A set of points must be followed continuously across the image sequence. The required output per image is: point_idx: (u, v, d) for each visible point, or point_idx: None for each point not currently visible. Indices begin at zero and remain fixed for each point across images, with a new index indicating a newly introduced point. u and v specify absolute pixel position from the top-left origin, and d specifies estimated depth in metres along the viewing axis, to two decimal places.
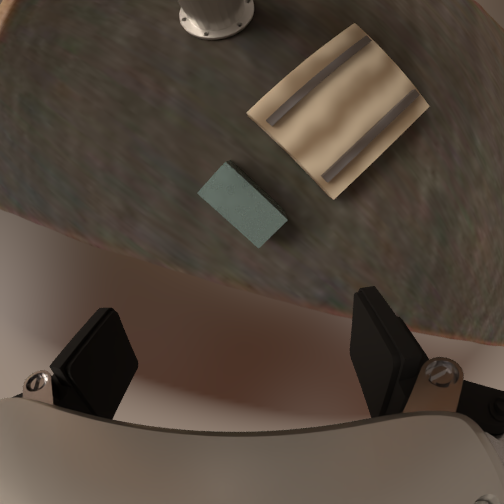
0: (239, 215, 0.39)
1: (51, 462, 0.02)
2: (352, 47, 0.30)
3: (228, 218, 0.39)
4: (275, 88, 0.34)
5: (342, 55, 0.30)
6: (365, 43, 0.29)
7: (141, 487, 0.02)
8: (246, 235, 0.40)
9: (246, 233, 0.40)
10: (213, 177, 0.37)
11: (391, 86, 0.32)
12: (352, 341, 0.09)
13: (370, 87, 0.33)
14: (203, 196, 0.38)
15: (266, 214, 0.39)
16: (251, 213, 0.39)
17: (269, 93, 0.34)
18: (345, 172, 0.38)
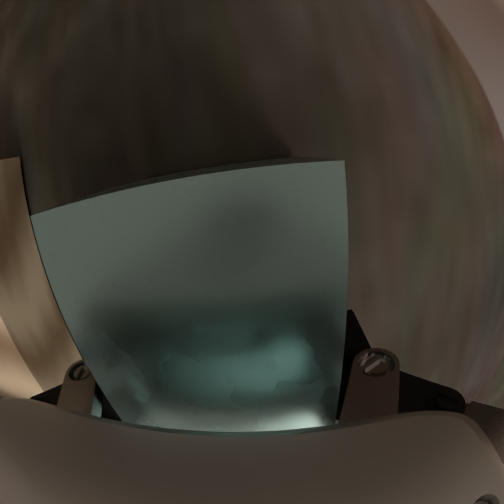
0: (266, 415, 0.06)
1: (51, 462, 0.02)
2: None
3: None
4: None
5: None
6: None
7: (141, 487, 0.02)
8: (334, 315, 0.05)
9: (322, 327, 0.05)
10: None
11: None
12: None
13: None
14: None
15: (118, 328, 0.05)
16: (199, 390, 0.05)
17: None
18: None
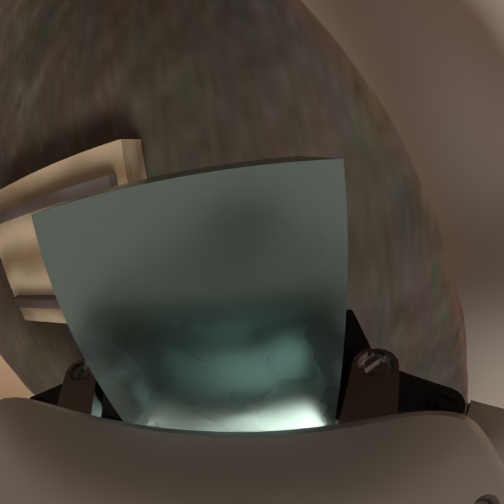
0: (266, 413, 0.06)
1: (51, 462, 0.02)
2: (29, 306, 0.26)
3: (323, 424, 0.06)
4: None
5: (39, 306, 0.25)
6: (18, 301, 0.25)
7: (141, 487, 0.02)
8: (334, 313, 0.05)
9: (322, 325, 0.05)
10: None
11: (9, 241, 0.24)
12: None
13: (26, 254, 0.24)
14: None
15: (119, 327, 0.05)
16: (198, 388, 0.06)
17: None
18: (87, 170, 0.21)
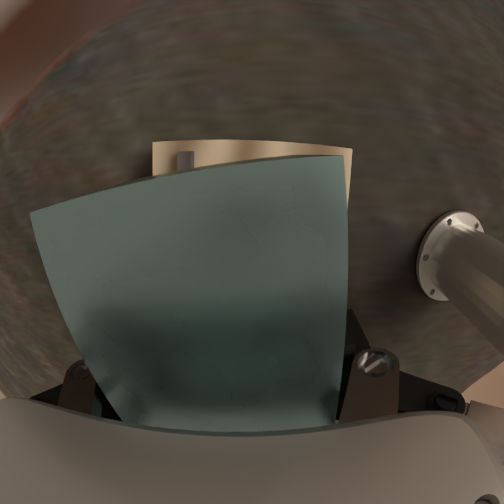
0: (266, 413, 0.06)
1: (51, 462, 0.02)
2: None
3: (323, 424, 0.06)
4: None
5: None
6: None
7: (141, 487, 0.02)
8: (335, 312, 0.05)
9: (322, 324, 0.05)
10: None
11: None
12: None
13: None
14: None
15: (117, 325, 0.05)
16: (198, 388, 0.05)
17: None
18: None
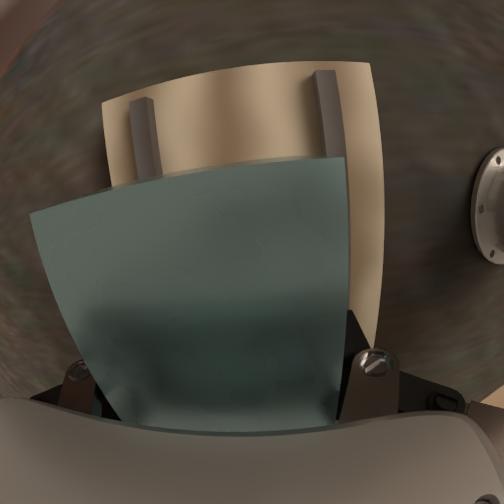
0: (266, 414, 0.06)
1: (51, 462, 0.02)
2: None
3: (323, 425, 0.06)
4: (377, 143, 0.15)
5: None
6: None
7: (141, 487, 0.02)
8: (335, 313, 0.05)
9: (322, 325, 0.05)
10: None
11: None
12: None
13: None
14: None
15: (117, 327, 0.05)
16: (198, 389, 0.05)
17: (375, 125, 0.15)
18: (129, 151, 0.16)
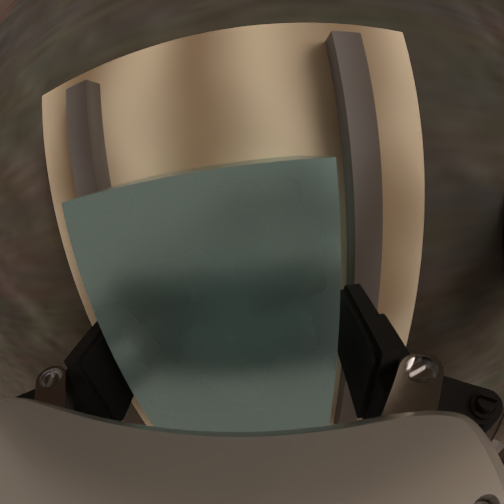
0: (271, 385, 0.07)
1: (51, 462, 0.02)
2: None
3: (322, 397, 0.07)
4: (417, 142, 0.10)
5: None
6: None
7: (141, 487, 0.02)
8: (330, 288, 0.06)
9: (320, 298, 0.06)
10: None
11: None
12: (339, 338, 0.10)
13: None
14: None
15: (141, 303, 0.06)
16: (210, 360, 0.06)
17: (415, 117, 0.09)
18: (70, 158, 0.11)
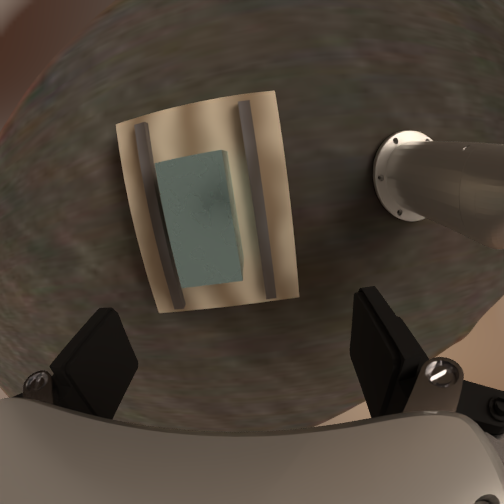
0: (211, 214, 0.24)
1: (51, 462, 0.02)
2: (270, 268, 0.31)
3: (229, 221, 0.24)
4: (279, 140, 0.27)
5: (268, 247, 0.30)
6: (267, 288, 0.31)
7: (141, 487, 0.02)
8: (223, 180, 0.23)
9: (221, 183, 0.23)
10: (208, 282, 0.26)
11: None
12: (353, 341, 0.09)
13: None
14: (238, 271, 0.26)
15: (176, 189, 0.23)
16: (194, 205, 0.23)
17: (278, 129, 0.27)
18: (134, 154, 0.27)
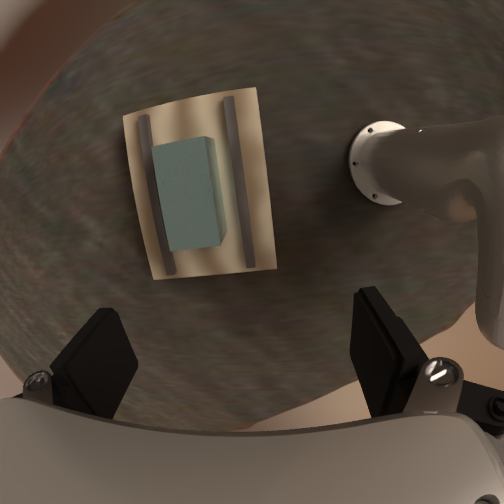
0: (196, 188, 0.28)
1: (51, 462, 0.02)
2: (249, 239, 0.35)
3: (210, 194, 0.28)
4: (258, 129, 0.31)
5: (247, 221, 0.34)
6: (246, 258, 0.36)
7: (141, 487, 0.02)
8: (205, 160, 0.27)
9: (203, 163, 0.27)
10: (192, 246, 0.30)
11: (190, 249, 0.37)
12: (352, 341, 0.09)
13: None
14: (217, 237, 0.30)
15: (167, 167, 0.28)
16: (181, 181, 0.28)
17: (258, 120, 0.31)
18: (137, 140, 0.32)
